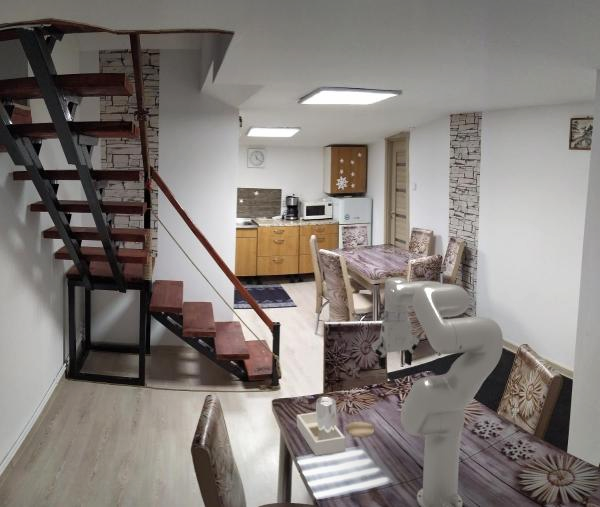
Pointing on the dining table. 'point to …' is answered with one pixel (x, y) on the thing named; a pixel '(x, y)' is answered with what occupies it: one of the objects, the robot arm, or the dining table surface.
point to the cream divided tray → (310, 434)
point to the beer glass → (325, 417)
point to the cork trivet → (360, 429)
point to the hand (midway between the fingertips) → (395, 365)
